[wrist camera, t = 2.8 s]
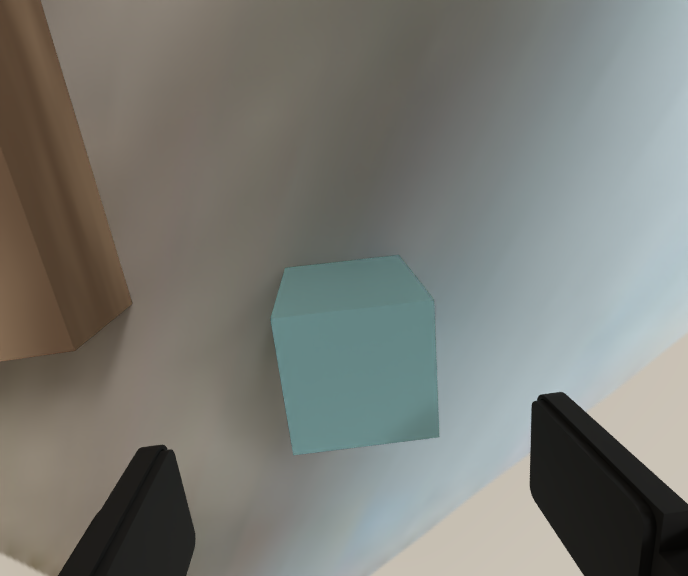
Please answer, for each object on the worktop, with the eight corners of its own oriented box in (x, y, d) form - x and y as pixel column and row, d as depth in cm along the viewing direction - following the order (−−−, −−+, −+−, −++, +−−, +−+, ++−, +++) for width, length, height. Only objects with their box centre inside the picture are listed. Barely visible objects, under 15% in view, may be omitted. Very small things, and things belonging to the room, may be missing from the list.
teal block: (398, 254, 19) (434, 299, 13) (405, 356, 20) (439, 437, 14) (285, 267, 18) (270, 318, 13) (300, 369, 20) (293, 455, 14)
